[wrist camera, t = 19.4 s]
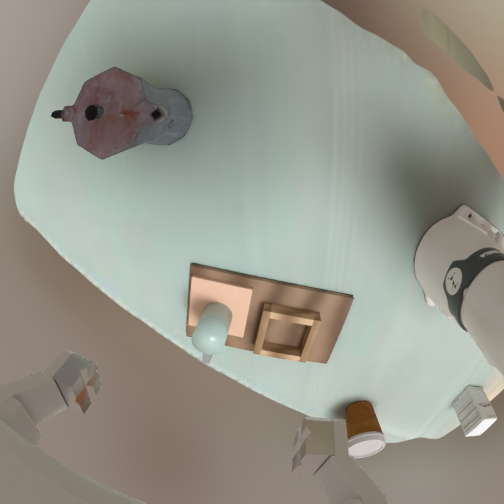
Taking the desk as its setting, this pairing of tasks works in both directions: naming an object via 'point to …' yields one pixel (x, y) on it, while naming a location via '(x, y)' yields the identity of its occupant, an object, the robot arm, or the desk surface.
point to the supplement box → (474, 411)
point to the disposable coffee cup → (363, 430)
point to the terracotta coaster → (220, 301)
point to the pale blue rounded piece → (212, 330)
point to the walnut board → (284, 317)
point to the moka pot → (125, 114)
